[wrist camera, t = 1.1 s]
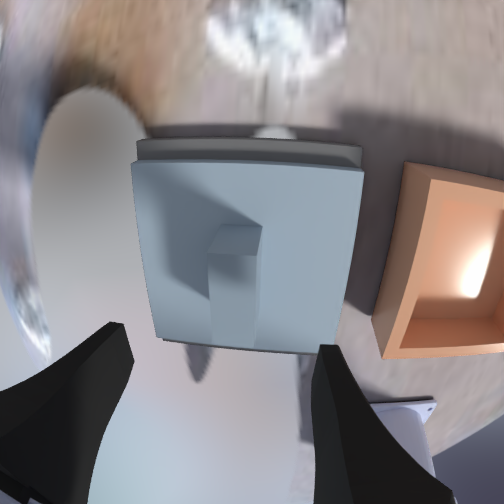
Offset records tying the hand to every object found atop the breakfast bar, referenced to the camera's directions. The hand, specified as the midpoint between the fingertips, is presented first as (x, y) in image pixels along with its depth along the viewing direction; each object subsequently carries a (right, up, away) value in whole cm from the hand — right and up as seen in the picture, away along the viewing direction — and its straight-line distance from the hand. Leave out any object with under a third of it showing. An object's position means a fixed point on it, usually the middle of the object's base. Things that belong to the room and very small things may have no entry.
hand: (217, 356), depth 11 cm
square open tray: (+14, +4, +5) cm, 15 cm away
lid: (+1, +3, +6) cm, 7 cm away
